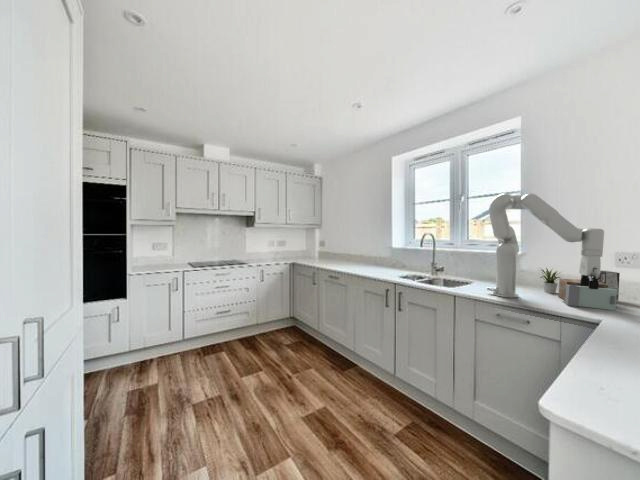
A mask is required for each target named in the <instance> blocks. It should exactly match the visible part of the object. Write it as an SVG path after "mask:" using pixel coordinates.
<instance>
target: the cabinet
mask: <svg viewBox="0 0 640 480" xmlns="http://www.w3.org/2000/svg"><path fill="white" fill-rule="evenodd" d="M558 279H559V280H558V281H559V282H558V298H559V299H561V300H562V303H564V304H565V305H567V304H566V303H565V298H566V285H567V284H568V285H577V286H586V285H581V279H575V278H574V279H573V278H562V277H560V278H558ZM590 281H591V280H590ZM586 287H589V286H586ZM598 288H607V289H608V285H607V284H604V283H602V282H599V285H598ZM567 306H568V307H572V306H571V305H567ZM574 307H575V308H578V307H579V306H574ZM574 307H573V308H574Z"/></svg>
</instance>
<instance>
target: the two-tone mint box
mask: <svg viewBox="0 0 640 480" xmlns="http://www.w3.org/2000/svg"><path fill="white" fill-rule="evenodd" d="M616 297H617V290H615V289H607V288H598V289H589V287H586V286H577V285H568V284H567V285H566V298H565V303H566V304H565V303H564V304H565V305H567V306H568V305H571V306H570V307H572V306H578V307H584V308H592V309H599V310H609V311H616V305H617V302H616Z"/></svg>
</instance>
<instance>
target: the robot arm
mask: <svg viewBox="0 0 640 480" xmlns="http://www.w3.org/2000/svg"><path fill="white" fill-rule="evenodd" d="M507 210H521V211H522V210H525V211H528V212H529V214H531V215H532V216H533V217H535V218H536V219H537V220H538V221H540V222H541V223H542V224H543V225H545V226H547V227H548V228H549V229H550V230H552V231H553V232H554V233H555V234H556V235H558V236H559V237H560V238H562V239H563V240H564V241H565V242H567V243H576V242H577V243H578V242H579V243H580V242H581V252H580V255H581V258H580V263H579V271H578V272H579V274H580V280H581V285H586V286H589V289H598V285H599V276H600V271H601V264H602V263H601V258H603V252H604V251H603V250H604V240H605V230H604V229H602V228H578V227H577V226H575V225H574V224H573V223H572V222H570V221H569V220H567V219H566V218H565V217H564V216H562V215H561V214H560V212H559V211H558V210H556V209H555V208H554V207H553V206H552V205H550V204H549V203H547V202H546V201H545V200H544V199H543V198H541V197H539V195H537V194H536V193H531V192H530V193H527V194H523V195H522V194H519V195H511V194H509V193H500V194H498V195H496V196H495V198H493V199H492V201H491V202H490V205H489V207H488V213H489V219H490V223H491V227H492V233H493V236H494V237H495V239H497V241H498V246H497V247H496V250H495V251H496V255H495V256H496V276H495V278H496V279H495V280H496V282H495V286H494V287H490V286H486V290H487V291H490V292H492V294H493V295H494V296H498V297H502V298H510V299H511V298H512V299H513V298H514V299H515V298H517V299H518V298H519V297H520V295H519V294H518V293H516V292H517V291H516V288H517V255H518V254H519V251H520V246H519V244H518V240H517V239H518V238H517V235H516V232H515V229H514V228H513V227H512V226H511V225H510V222H509V218H508V215H507ZM590 280H591V281H590Z"/></svg>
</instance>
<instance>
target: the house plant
mask: <svg viewBox="0 0 640 480" xmlns="http://www.w3.org/2000/svg"><path fill="white" fill-rule="evenodd" d="M545 270H546V271H545ZM545 270H544V269H543V268H541V267H540V268H539V269H538V270H537V271H539V272H540V273H542V276H540V275H537V276H539V279H543V280H544V281H542V284H543V290H544V291H543V292H544V293H548V294H556V291H557V287H558V285H559V282H556V281H559V278H561V276H557V275H560V273H561V272H563V270H562V271H560V272H559V271H558V270H556V271H554V272H553V273H552V271H553V270H554V267H552V269H550V271H549V269H548V268H547V267H545Z"/></svg>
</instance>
